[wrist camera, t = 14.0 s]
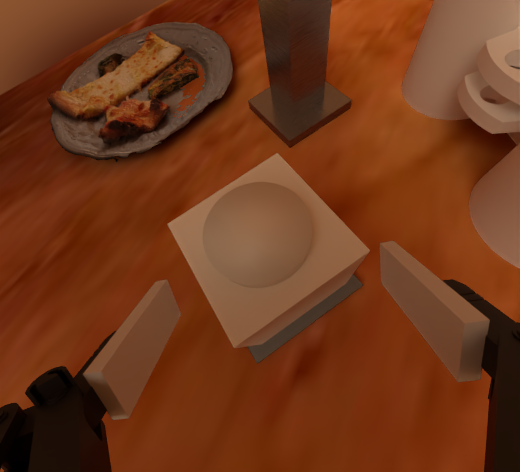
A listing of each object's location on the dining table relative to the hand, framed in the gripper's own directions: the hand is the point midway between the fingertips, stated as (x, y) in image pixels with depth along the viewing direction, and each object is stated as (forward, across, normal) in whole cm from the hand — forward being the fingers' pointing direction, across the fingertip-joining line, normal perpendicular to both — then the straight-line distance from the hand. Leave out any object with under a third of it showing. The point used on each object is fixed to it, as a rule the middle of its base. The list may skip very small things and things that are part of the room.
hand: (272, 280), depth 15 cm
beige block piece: (+5, 0, -2) cm, 6 cm away
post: (+18, +5, +10) cm, 22 cm away
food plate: (+25, -14, +17) cm, 33 cm away
